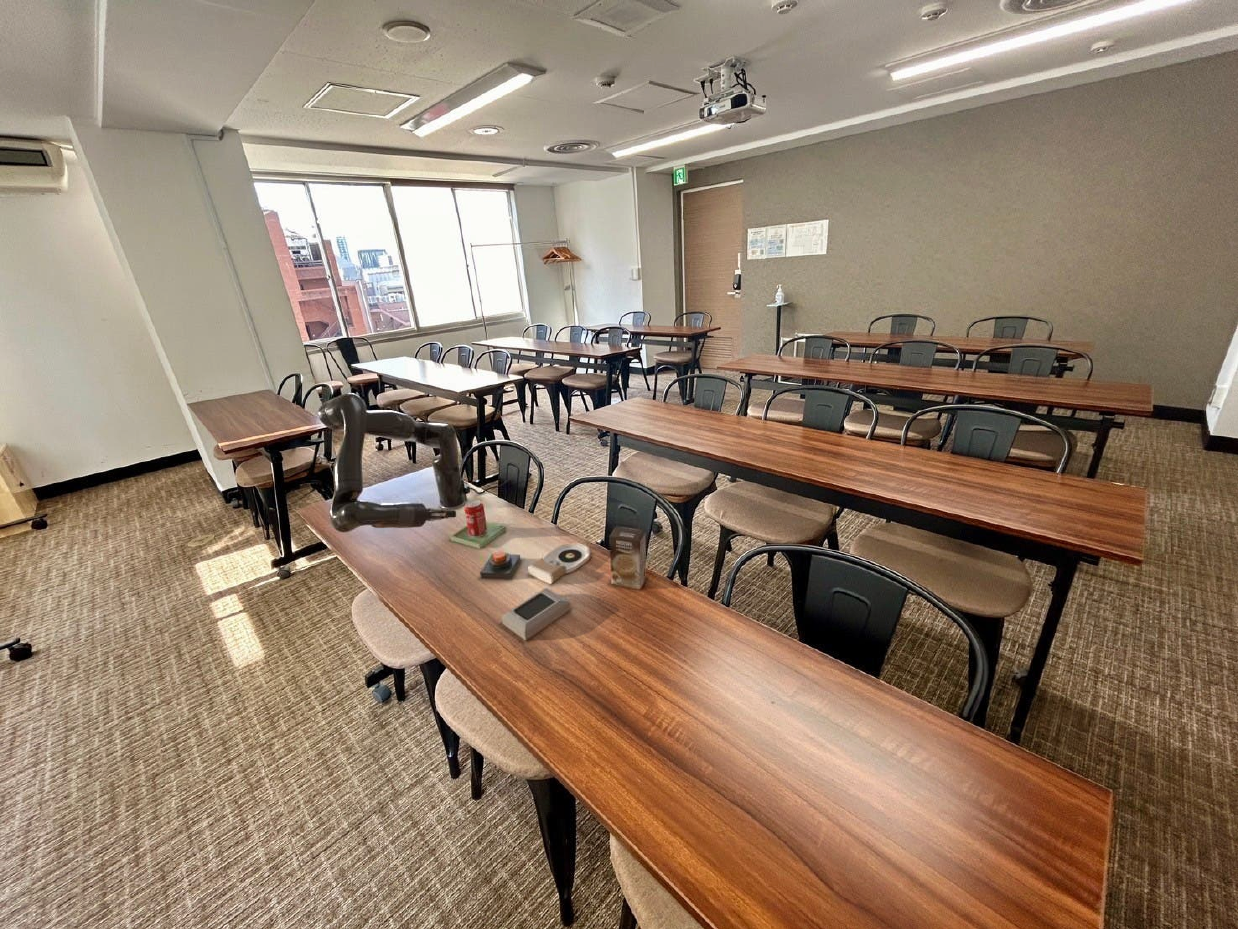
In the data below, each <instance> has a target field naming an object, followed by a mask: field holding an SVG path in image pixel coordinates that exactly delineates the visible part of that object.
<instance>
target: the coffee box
mask: <svg viewBox="0 0 1238 929" xmlns="http://www.w3.org/2000/svg"><path fill="white" fill-rule="evenodd" d="M646 532H647V531H646V529H641V528H635V527H628V526H623V525H615V526H614V528H613V529H612V531H611V533H610V534H609V556H610V559H609V560H610V580H611V582H610V583H611V585H616V586H621V587H627V588H631V589H637V590H641V589H642V587H643V585H644V583H645V580H646V579H647V548H646V547H647V545H646V544H647V540H646V539H647V533H646Z"/></svg>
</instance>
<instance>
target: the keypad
mask: <svg viewBox="0 0 1238 929" xmlns="http://www.w3.org/2000/svg"><path fill="white" fill-rule="evenodd" d="M569 611H571V602H570V601H569V600H567V599H566V598H564V597H563V596H560V595H559V594H558V593H556V592H554V591H552V590H551V589H549V588H547V587H545V588H543V589H542V590H540V591H538V592H537V593H535V594H534V595H532V596H530V597H529V598H527V599H526V600H524V601H523V602H521V603H519V604H518V605H516V606H515V607H513V608H512V609H510V610H509V611H507V612H505V613H504V614H503V615H502V616H501V622H502V625H503V626H505V627H506V628H508V629H509V630H510V631H512V632H513V633H515V634H516V635H517V636H518V637H520V638H521V639H522V640H524V641H527V640H530V639H531V638H532V637H533V636H535V635H536V634H538V633H539V632H540V631H542V630H543V629H545V628H547V627H548V626H549V625H551V624H552V623H553V622H554V621H556V620H558V619H559V618H561V616H562V617H563V615H565V614H566V613H567V612H569Z"/></svg>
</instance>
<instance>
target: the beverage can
mask: <svg viewBox="0 0 1238 929" xmlns="http://www.w3.org/2000/svg"><path fill="white" fill-rule="evenodd" d="M464 516H465V521H466V526H468V531H469V535H471V536H472V537H476V538H477V537H482V536H484V535H485V534H486V532H487V530H488V529H487V523H486V521H487V519H486V518H487V517H486V512H485V506H484V504H483V503H482V501H481V500H479V499H472V500H469V501H466V503H465V505H464Z"/></svg>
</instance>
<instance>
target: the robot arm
mask: <svg viewBox="0 0 1238 929" xmlns="http://www.w3.org/2000/svg"><path fill="white" fill-rule="evenodd" d="M317 416H318V419H319V420H320V422H321V423H322V424H323V425H324V426H325V427H327V428H328V429H330V430H332V431H336V432H343V437H342V441H341V444H340V447H339V450H338V452H337V455H336V457H335V459H334V464H333V472H332V473H333V490H334V492H333V496H332V500H331V506H330V512H329V517H330V522H331V525H332V527H333V528H334V529H335V530H336V531H338V532H339V533H349V532H352V531H354V530H356V529H358V528H360V527H363V526H371V527H373V528H374V529H390V528H391V529H392V528H393V529H394V528H395V529H411V528H421V527H423V526H424V525H425V524H426V522H434V521H441V520H444V519H446V520H448V519H449V518H450V519H451V518H456V517H457V510H456V509H460V508H462V507H463V506H466V503H467V502H468V497H467V495H468V494H470V493H471V491H473V492H475V494H477V495H482V494H484V493H486V492H487V491H489V490H492V489H497V488H498V489H499V488H501V487H503V486H505V485H506V484H507V483H508V482H510V483H512V482H513V481H512V479H506V480H505V481H504V482H503V483H501V484H500V485H496V486H490V487H487V488H485V489H484V490H482V491H483V492H482V491H480V492H479V491H477V489H475V488H473V487H470V485H465V480H464V479H463V478H462V475H461V470H460V463H459V447H458V439H457V433H456V430H455V428H454V427H453V426H452V425H451V424H447V423H436V422H435V423H434V422H421V421H417V420H415V418H413V417H412V416H410V415H408V414H406V413H404V412H403V413H402V412H399V411H394V410H383V409H382V410H381V409H380V410H379V409H377V410H368V409H367V405H366V403H365V402H364V400H363V399H362V397H360V396H359V395H357V394H356V393H353V392H347V393H343V394H341V395H338V396H336V397H333V398H331V399H329V400H327V401H325V402H324V403H322V404H321V405H320V406H319V407H318V411H317ZM366 435H369V436H374V437H380V438H384V439H389V440H393V441H398V442H414V443H417V444H420V445H422V446H425V447H428V448H431V449H439V451H440V453H439V454H438V455H435V456H434V457H433V458H432V460H431V463H432V468H433V469H432V470H433V473H434V478H435V479H434V480H435V481H436V487H437V492H438V498H439V504H440V508H434V507H433V508H432V507H431V508H430V507H428V508H427V507H426V505H425V504H424V503H422V502H395V503H394V502H393V503H391V502H389V503H388V502H387V503H379V502H378V503H377V502H373V501H368V500H358V499H359V498H360V496H361V494H362V493H363V491H364V477H363V453H364V452H363V451H364V444H365V436H366Z"/></svg>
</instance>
